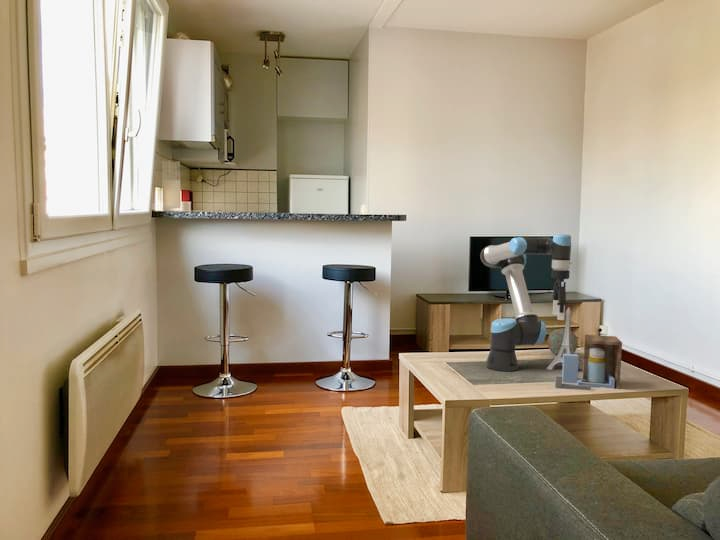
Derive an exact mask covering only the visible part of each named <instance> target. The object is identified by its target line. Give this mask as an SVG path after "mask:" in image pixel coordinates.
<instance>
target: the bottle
mask: <svg viewBox="0 0 720 540" xmlns="http://www.w3.org/2000/svg"><path fill="white" fill-rule="evenodd" d="M604 355H605V350H604V349H599V348H591V349H590V356H589V359H588V374H587V381H586V382H588V383H601V384H605V381H604V377H605V358H604V357H605V356H604Z"/></svg>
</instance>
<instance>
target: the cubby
mask: <svg viewBox="0 0 720 540" xmlns="http://www.w3.org/2000/svg"><path fill="white" fill-rule="evenodd" d="M583 346H584V347H583V348H584V349H583V350H584V352H583V364H582V366H583V370H582V380H587V374H588V359H589V356H590V349H591V348H599V349H604V350H605V355H604V356H605V357H604V358H605V377H604V382H606V375H607V373H610V374H611V375H612V376H613V378H614V379H615V385H614V388H615V387H616V388H615V389H616V390H620V388H621V387H620V386H621V382H620V381H621V372H622V371H621V368H622V352H623V351H622V350H623V342H622V341H621V340H620V339H619V337H617V336H616V335H615V336H613V335H597V334H584V345H583Z"/></svg>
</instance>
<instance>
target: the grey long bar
mask: <svg viewBox="0 0 720 540" xmlns="http://www.w3.org/2000/svg"><path fill="white" fill-rule="evenodd" d="M554 381H555V384H554V386H555V389H569V390H582V391H591V388H592V387H590V386H588V385H578V384H576V383H563V381H562V374H560V375H559V374H555V380H554Z"/></svg>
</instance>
